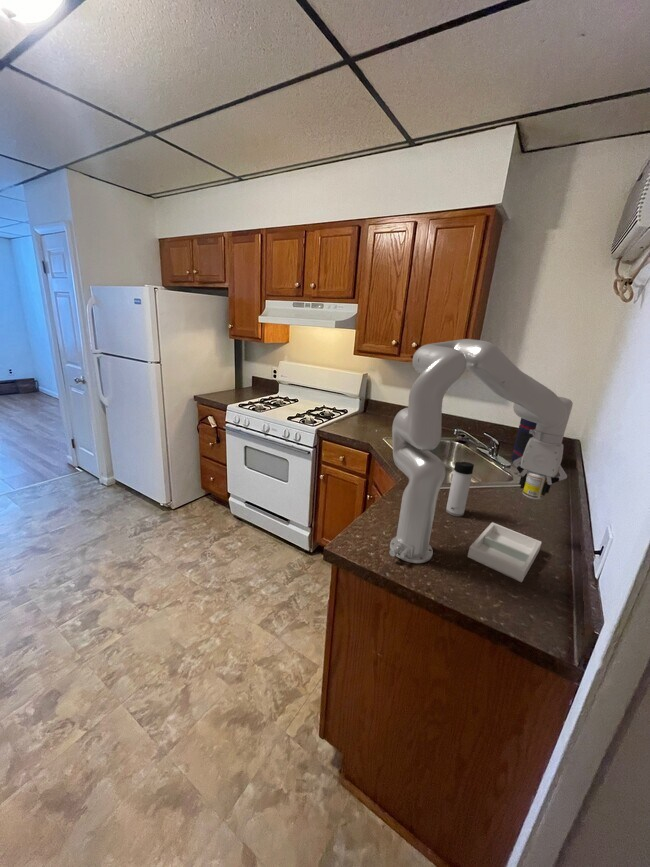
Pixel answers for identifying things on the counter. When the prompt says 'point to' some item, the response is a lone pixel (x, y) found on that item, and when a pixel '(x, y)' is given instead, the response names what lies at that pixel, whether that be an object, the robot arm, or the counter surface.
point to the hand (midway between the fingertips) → (533, 490)
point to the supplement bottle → (534, 485)
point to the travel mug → (459, 488)
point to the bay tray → (505, 551)
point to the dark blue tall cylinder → (522, 438)
